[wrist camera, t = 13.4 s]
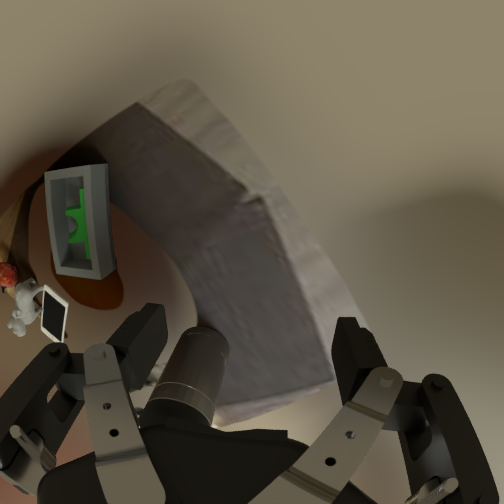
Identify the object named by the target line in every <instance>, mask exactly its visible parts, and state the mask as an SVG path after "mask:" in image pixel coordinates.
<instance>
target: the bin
mask: <svg viewBox="0 0 504 504" xmlns="http://www.w3.org/2000/svg"><path fill="white" fill-rule="evenodd" d="M80 187H84V201H85V214H86V224H87V234H88V242H89V249H90V256H91V258H90V259H87V257H86V251H85V244H84V241H83V242H77V243H71V244H69V233H72V232H73V231H74V230H75V229H76V228H77V225H78V224H77V221H76V220H75V218H73V217H72V216H66V212H65V210H66V207H71V206H78V205H80V190H79V188H80ZM45 193H46V205H47V216H48V225H49V232H50V240H51V246H52V252H53V258H54V263H55V268H56V273H57V274H63V275H70V276H76V277H84V278H91V279H98V280H102V279H103V278H105V277H106V276H107V275H108V274H110V273H111V272H112V271H114V270H115V269H116V263H115V255H114V248H113V238H112V228H111V216H110V202H109V177H108V164H95V165H86V166H79V167H72V168H66V169H60V170H54V171H49V172H45Z"/></svg>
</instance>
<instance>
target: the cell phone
mask: <svg viewBox="0 0 504 504" xmlns="http://www.w3.org/2000/svg"><path fill="white" fill-rule="evenodd" d="M68 305H69V303H68V302H67V301H66V300H65V299H64V298H63V297H61V296H60V295H59V294H58V293H57V292H55V291H54V290H53V289H52V288H51V287H50V286H49V285H47V284H45V285H44V291H43V302H42V308H43V309H44V311H43V312H42V317H41V330H42V331H43V332H44V333H45V334H46V335H47V336H48V337H49V338H51V339H52V340H53V341H54V342H62V343H63V342H64V330H65V325H66V318H67V311H68Z"/></svg>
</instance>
